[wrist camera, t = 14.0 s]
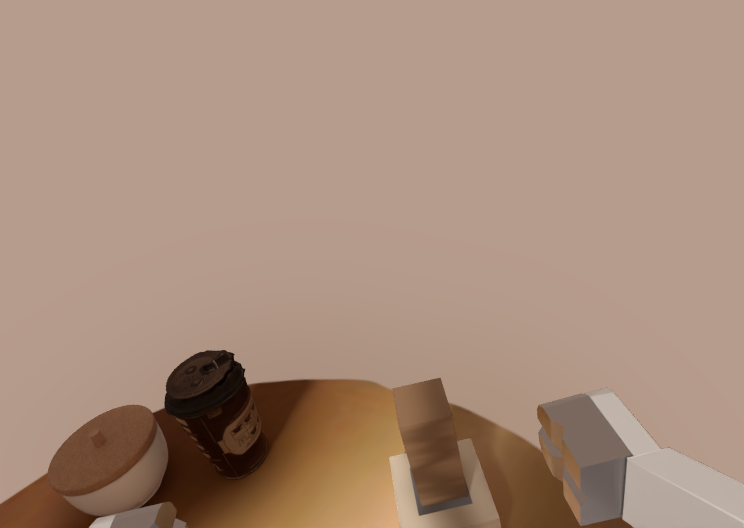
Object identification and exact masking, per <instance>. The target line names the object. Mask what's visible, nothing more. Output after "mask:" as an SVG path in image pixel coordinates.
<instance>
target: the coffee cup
mask: <svg viewBox="0 0 744 528" xmlns="http://www.w3.org/2000/svg"><path fill="white" fill-rule="evenodd" d="M244 372H245V369H243V368H242V366H241V364H240V363H238V362H236V361H234V354H233V353H230V352H227V351H225V350H222V351H205V352H199V353H197V354H195V355H193V356H191V357H190V358H189V359H187V360H186V361H184V362H183V363H181V364H180V365H179V366H178V367H177V368H176V369H174V371H173V372H172V373H171V375H170V376H169V378H168V380H167V384H166V391H167V393H166V396H165V409H166V411H167V413H168V414H169V415H170V416H173V417H175V419H176V420H177V421H178V422H179V423H180V424H181V425H182V427H183V428H184V430H185V431H186V432H187V433H188V435H189V436H190V438H191V439H192V440H193V441H194V442H195V444H196V446H197V447H198V449H199V450H200V451H201V452H202V453H203V454H204V456H205V457H206V458H207V459H209V460H210V462H211V464H212V466H213V467H214V468H215V470H216V471H217V473H218V474H220V475H221V476H223V477H225V478H227V479H239V478H242V477H244V476H246V475H248V474H249V473H251V472H252V471H254V470H255V469H256V468H257V467H258V466H259V465H260V464H261V462H262V461H263V459H264V458H265V456H266V454H267V451H268V442H267V439H266V437H265V435H264V434H263V433H262V424H261V420H260V416H259V414H258V411H257V409H256V406H255V402H254V399H253V396H252V394H251V391H250V388H249V386H248V385H247V383H246V379H245V377H244Z"/></svg>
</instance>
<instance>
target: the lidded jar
mask: <svg viewBox="0 0 744 528" xmlns="http://www.w3.org/2000/svg"><path fill="white" fill-rule="evenodd" d="M167 463H168V448H167V443H166V440H165V437H164V435H163V432H162V430H161V428H160V427H159V425H158V423H157V421H156V419H155V417H154V415H153V413H152V412H151V411H150V410H149V409H148V408H146V407H143V406H140V405H127V406H122V407H119V408H115V409H112V410H110V411H107V412H105V413H103V414H101V415H99V416H97V417H95V418H94V419H92V420H90V421H89V422H87V423H86V424H85V425H83V426H82V427H81V428H79V429H78V430H77V431H76V432H74V433H73V434H72V435H71V436H70V437H69V438H68V439H67V440H66V441H65V442H64V443H63V444H62V446H61V447H60V448H59V449H58V451H57V452H56V454H55V455H54V457H53V459H52V461H51V463H50V466H49V469H48V475H47V476H48V482H49V484H50V486H51V487H52V488H53V489H54V490H55V491H56V492H57V493H59V494H61V496H62V497H63V498H64V499H65V500H67V501H68V502H69V503H70V504H71V505H72V506H74V507H75V508H76V509H78V510H80V511H82V512H84V513H86V514H90V515H94V516H109V515H113V514H117V513H121V512H125V511H129V510H134V509H138V508H140V507H141V506H143V505H144V504H145V503H146V502H148V501H149V500H150V499H151V498H152V497H153V496H154V494H155V493H156V492H157V490H158V489H159V487H160V485H161V483H162V479H163V476H164V474H165V471H166V468H167Z"/></svg>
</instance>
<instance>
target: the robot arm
mask: <svg viewBox="0 0 744 528" xmlns="http://www.w3.org/2000/svg"><path fill="white" fill-rule="evenodd" d="M537 415H538V419H539V421H540V423H541V424H542V428H541V429H540V431H539V441H540V445H541V449H542V452H543V456H544V458H545V460H546V463H547V465H548V467H549V469H550V471H551V473H552V475H553V476H554V477H555V478H557V479H559V480H560V481H562V482H563V489H564V497H565V499H566V501H567V502H568V504H569V506H570V508H571V510H572V512H573V513H574V515H575V517H576V519H577V521H578V522H579V524H580V526H584V525H588V524H592V523H597V522H601V521H606V520H610V519H615V518H619V517H623V520H624V521H626V522H627V523H628V524H630V525H631V526H632V527H634V528H744V484H743V483H741V482H739V481H737V480H735V479H733V478H731V477H729V476H727V475H725V474H723V473H721V472H719V471H717V470H715V469H713V468H711V467H709V466H707V465H704V464H702V463H700V462H698V461H696V460H694V459H692V458H690V457H688V456H686V455H684V454H682V453H680V452H678V451H676V450H674V449H672V448H670V447H667V448H663V449H661V448H660V446H659V445H658V444H657V443H656V442H655V440H654V439H653V438H652V437H651V436H650V435H649V433H648V432H647V431H646V430H645V429H644V427H643V426H642V425H641V424H640V423H639V421H638V420H637V419H636V418H635V417H634V415H633V414H632V413H631V412H630V411H629V410H628V408H627V407H626V406H625V405H624V404H623V402H622V401H621V400H620V399H619V398H618V396H617V395H616V394H615V393H614V392H613V391H612V390H611V389H609V388H604V389H600V390H596V391H592V392H588V393H584V394H578V395H574V396H571V397H567V398H564V399H560V400H557V401H552V402H549V403H546V404H541V405H539V406H538V409H537ZM176 514H177V509H176V508H175V507H174V506H173V504H172V503H171V502H165V503H160V504H156V505H151V506H147V507H143V508H138V509H134V510H129V511H125V512H121V513H117V514H113V515H109V516H105V517H100V518H97V519H96V520H95V521H94V522H93V523H92V524H91V525H90V527H89V528H189V526H188V525H187V523H186V522H183V521H181V520H178V519H176V518H175V517H176Z"/></svg>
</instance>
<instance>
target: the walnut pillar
mask: <svg viewBox="0 0 744 528" xmlns="http://www.w3.org/2000/svg"><path fill="white" fill-rule="evenodd" d="M393 395H394V401H395V407H396V413H397V419H398V425H399V430H400V433H401V437H402V440H403V443H404V447H405V450H406V454H407V457H408V461H409V464H410V468H411V471H412V474H413V478H414V481H415V485H416V488H417V492H418V495H419V499H420V502H421V505H422V507H423V506H427V505H432V504H436V503H441V502H445V501H450V500H455V499H459V498H464V497H468V493H467V488H466V483H465V478H464V473H463V468H462V463H461V458H460V453H459V448H458V443H457V438H456V433H455V428H454V423H453V418H452V414H451V411H450V408H449V404H448V401H447V398H446V395H445V391H444V388H443V385H442V381H441V378H438V379H433V380H428V381H424V382H420V383H415V384H411V385H407V386H402V387H398V388H393Z"/></svg>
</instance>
